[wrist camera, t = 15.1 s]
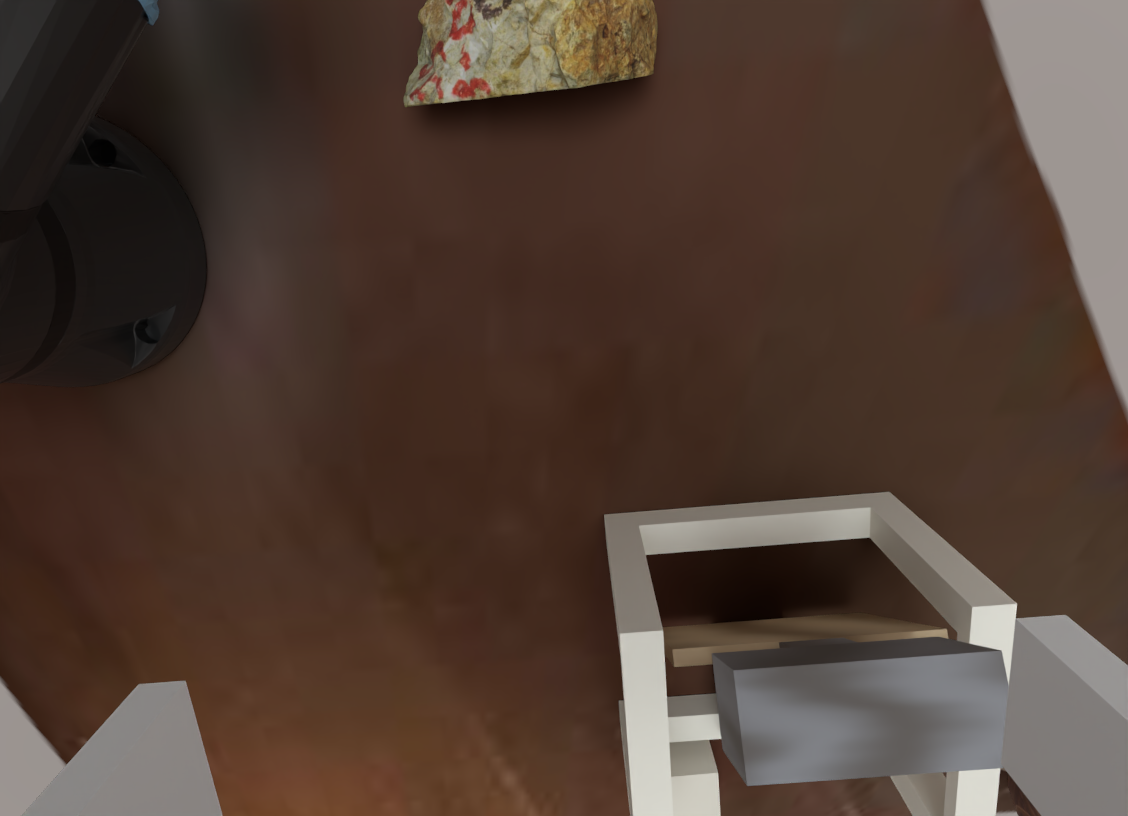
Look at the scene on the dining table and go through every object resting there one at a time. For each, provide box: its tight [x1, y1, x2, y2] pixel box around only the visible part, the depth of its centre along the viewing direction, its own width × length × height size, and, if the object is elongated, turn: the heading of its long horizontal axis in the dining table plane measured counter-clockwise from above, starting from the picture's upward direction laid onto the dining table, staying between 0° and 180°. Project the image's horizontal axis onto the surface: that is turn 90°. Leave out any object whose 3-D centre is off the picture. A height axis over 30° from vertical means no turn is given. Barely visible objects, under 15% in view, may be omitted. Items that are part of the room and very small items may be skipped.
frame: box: [604, 492, 1017, 816], centre depth 40 cm, size 18×16×13 cm
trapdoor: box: [662, 612, 1009, 786], centre depth 35 cm, size 13×18×4 cm
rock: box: [403, 0, 658, 107], centre depth 34 cm, size 12×9×10 cm
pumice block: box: [669, 740, 720, 816], centre depth 48 cm, size 4×4×4 cm
